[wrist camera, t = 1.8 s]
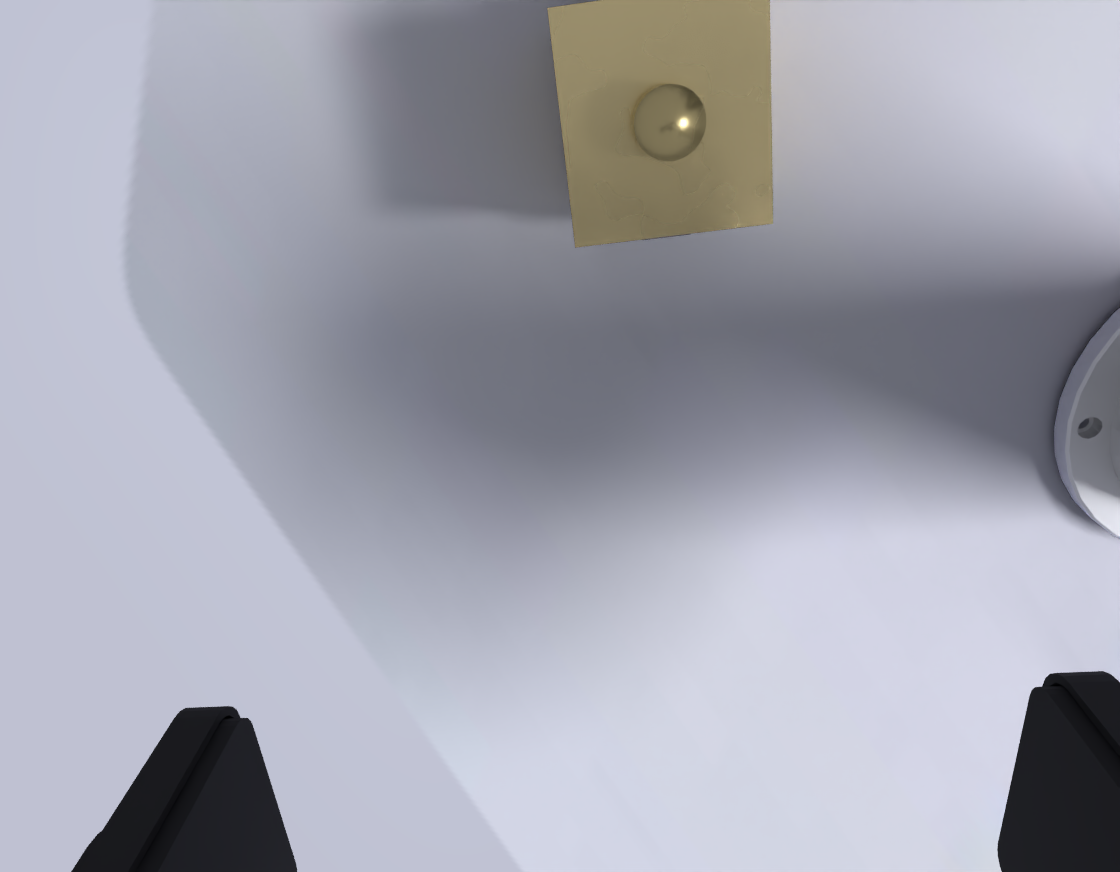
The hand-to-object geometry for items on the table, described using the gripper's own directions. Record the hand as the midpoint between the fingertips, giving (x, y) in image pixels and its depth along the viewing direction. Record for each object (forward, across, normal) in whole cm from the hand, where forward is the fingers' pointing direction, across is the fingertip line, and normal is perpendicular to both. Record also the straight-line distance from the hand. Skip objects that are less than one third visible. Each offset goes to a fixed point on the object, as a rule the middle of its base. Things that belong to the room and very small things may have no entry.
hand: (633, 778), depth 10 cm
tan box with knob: (+21, -2, -7) cm, 22 cm away
